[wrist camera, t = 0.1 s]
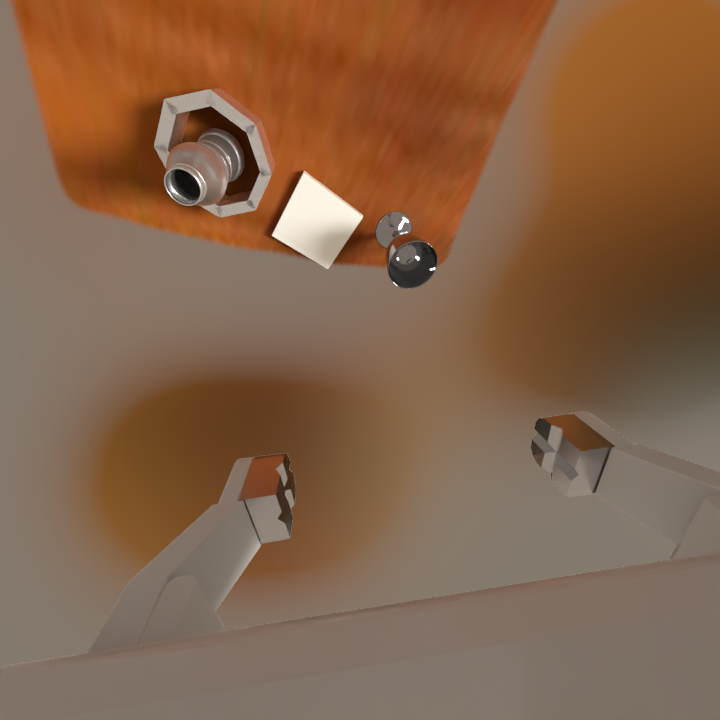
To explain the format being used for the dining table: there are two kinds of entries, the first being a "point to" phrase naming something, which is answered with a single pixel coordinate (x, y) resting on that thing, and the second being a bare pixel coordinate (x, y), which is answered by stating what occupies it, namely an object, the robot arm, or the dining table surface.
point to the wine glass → (405, 252)
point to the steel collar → (179, 111)
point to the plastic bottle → (203, 168)
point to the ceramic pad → (316, 221)
